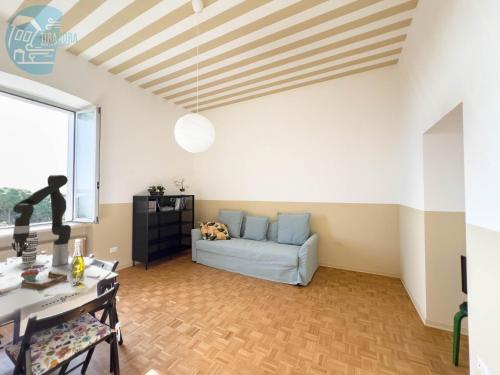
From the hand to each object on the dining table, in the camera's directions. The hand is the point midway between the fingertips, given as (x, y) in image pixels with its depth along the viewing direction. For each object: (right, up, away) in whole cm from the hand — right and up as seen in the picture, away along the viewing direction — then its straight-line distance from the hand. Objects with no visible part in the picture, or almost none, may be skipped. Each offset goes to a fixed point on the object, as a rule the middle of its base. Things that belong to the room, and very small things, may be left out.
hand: (19, 256), depth 143 cm
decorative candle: (-28, -15, +32) cm, 45 cm away
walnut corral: (+23, -16, -5) cm, 28 cm away
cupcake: (+10, -16, -2) cm, 19 cm away
